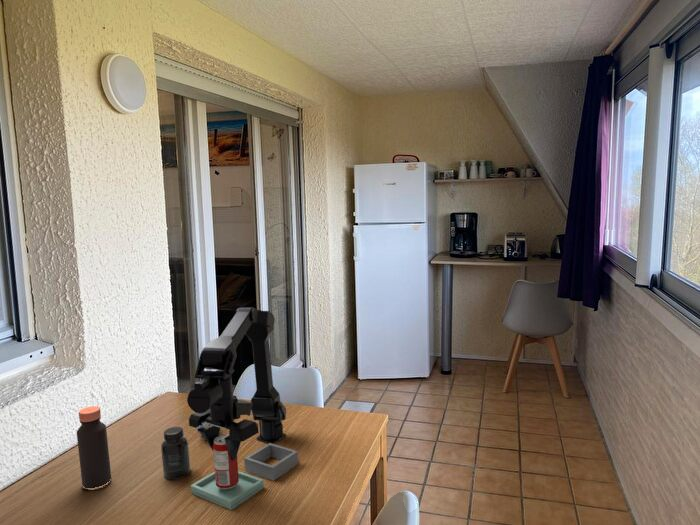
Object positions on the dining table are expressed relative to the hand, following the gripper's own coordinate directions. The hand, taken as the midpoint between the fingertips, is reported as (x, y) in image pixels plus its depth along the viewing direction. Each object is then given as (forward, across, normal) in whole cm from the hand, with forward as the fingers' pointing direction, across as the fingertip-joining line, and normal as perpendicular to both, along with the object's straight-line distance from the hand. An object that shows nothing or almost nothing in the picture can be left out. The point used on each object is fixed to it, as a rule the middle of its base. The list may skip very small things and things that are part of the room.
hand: (225, 456), depth 130 cm
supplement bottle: (+9, +18, +1) cm, 20 cm away
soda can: (+7, 0, 0) cm, 7 cm away
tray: (+9, 0, 0) cm, 9 cm away
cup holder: (+9, -2, -14) cm, 17 cm away
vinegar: (+9, +32, +15) cm, 37 cm away
